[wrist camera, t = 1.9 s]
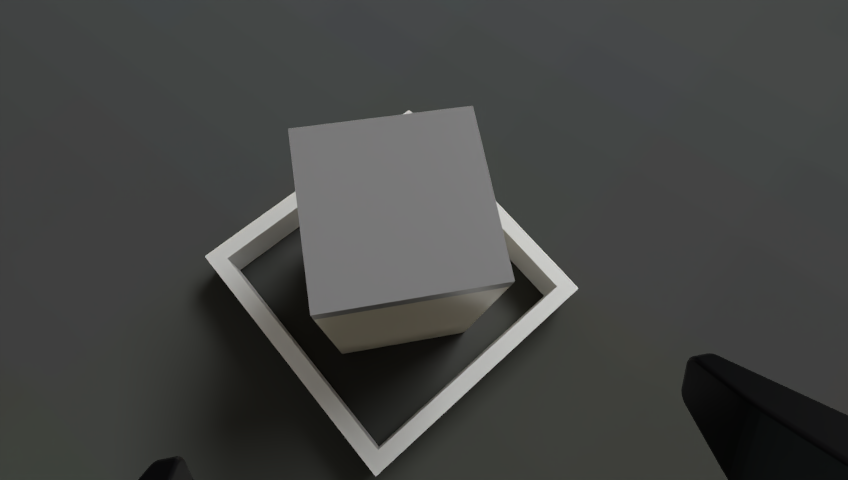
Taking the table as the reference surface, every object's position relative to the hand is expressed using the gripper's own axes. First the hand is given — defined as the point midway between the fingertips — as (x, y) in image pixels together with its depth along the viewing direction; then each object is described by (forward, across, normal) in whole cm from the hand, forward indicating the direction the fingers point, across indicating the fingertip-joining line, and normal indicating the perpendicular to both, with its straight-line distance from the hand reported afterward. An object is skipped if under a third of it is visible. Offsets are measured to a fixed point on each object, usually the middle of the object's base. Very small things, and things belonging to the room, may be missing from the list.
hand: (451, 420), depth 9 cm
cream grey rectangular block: (+12, 0, +5) cm, 13 cm away
